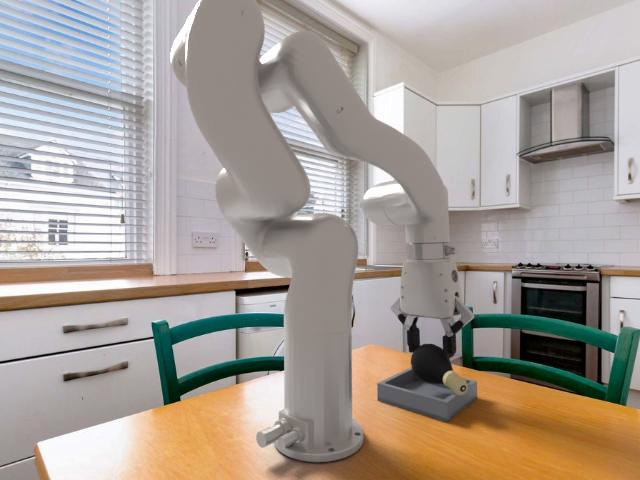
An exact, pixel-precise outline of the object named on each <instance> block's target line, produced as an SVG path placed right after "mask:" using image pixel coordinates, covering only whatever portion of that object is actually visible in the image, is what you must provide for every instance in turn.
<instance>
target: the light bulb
mask: <svg viewBox="0 0 640 480" xmlns="http://www.w3.org/2000/svg"><path fill="white" fill-rule="evenodd" d="M410 357H411V358H410V365H411V367H412V370H413V372H414V373H415V374H416V376H417V377H418V378H419V379H421V380H423V381H425V382H428V383H432V384H444V385H445V386H447V387H448V388H449V389H451V390H452V391H453V392H454V393H455V394H456V395H463V394H465V393H466V392H467V390H468V384H467V382H466V380H465V379H463V378H464V377H462V376H461V375H460V374H458V373H457V372H456V371H454V368H453V365H452V362H451V358H450V359H448V360H447V359H444V358H443V347H440V346H438V345H436V344H434V343H423V344H420V346H419V347H418V348H416V349H415V350H414V352H413V353H412V355H411V356H410Z"/></svg>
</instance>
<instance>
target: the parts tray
mask: <svg viewBox="0 0 640 480" xmlns="http://www.w3.org/2000/svg"><path fill="white" fill-rule="evenodd" d="M462 378H463V379H465V380H466V382H467V384H468V390H467V392H466V393H465V394H463V395H456V394H455V393H454V392H453V391H452V390H451V389H449V388H448V387H447V386H445V385H444V384H432V383H428V382H425V381H423V380H421V379H419V378H418V377H417V376H416V374H415V373H414V372H413V370H412V366H411V367H409V368H407V369H404V370H401V371H400V372H398V373H396V374H394V375H392V376H390V377H387V378H385V379H384V380H381V381H378V382H377V384H376V385H377V386H376V387H377V389H376V390H377V395H376V397H377V401H379V402H381V403H383V404H387V405H391V406H394V407H398V408H400V409H403V410H406V411H409V412H414V413H416V414H418V415H419V414H420V415H422V416H425V417H428V418H431V419H435V420H438V421H441V422H445V423H448V422H449V421H450V420H452V419H453V418H454V417H456V416H457V415H458V414H459V413H460V412H462V411H463V410H464V409H465V408H467V407H468V406H469V405H470V404H472V403H473V402H475V400H477V398H478V381H477V380H474V379H471V378H465V377H462Z"/></svg>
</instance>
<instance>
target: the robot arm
mask: <svg viewBox="0 0 640 480" xmlns="http://www.w3.org/2000/svg"><path fill="white" fill-rule="evenodd" d="M265 28H266V27H265V20H264V16H263V13H262V11H261V8H260V5H259V4H258V2H257V0H198V2H197V3H196V5H195V7H193V10H192V12H191V13H190V15H189V16H188V18H187V19H186V22H185V24H184V25H183V27H182V28H181V30H180V32H179V33H178V35H177V37H176V38H175V40H174V41H173V44H172V48H171V49H170V50H171V52H170V64H171V67H172V71H173V73H174V75H175V77H176V79H178V81H179V83H181V84H182V85H183V86H184V87H185V88H186V93H187V99H188V100H187V101H188V103H189V106H190V110H191V113H192V116H193V119H194V121H195V124H196V126H197V127H198V129H199V131H200V133H201V135H202V136H203V138H204V139H205V141H206V143H207V144H208V146H209V147H210V148H211V150H212V152H213V154H214V156H216V158H217V160H218V161H219V163H220V164H221V165H222V167H223V168H222V169H221V171H220V172H219V174H218V175H217V177H216V181H215V187H214V190H215V192H214V193H215V198H216V201H217V205H218V207H219V209H220V212H221V214H222V215H223V216H224V218H225V219H226V221H227V223H228V224H229V225H230V226H231V227H232V229H233V230H234V232H235V233H236V235H237V236H238V237H239V239H241V241H242V243H244V245H245V246H246V248H247V249H248V250H249V252H250V253H251V254H252V255H253V257H255V259H256V261H258V262H259V264H261V266H262V267H263V268H264V269H265V270H267V272H269V273H271V274H273V275H275V276H277V277H282V278H289V279H290V284H289V287H288V290H287V293H286V296H285V301H284V309H283V332H284V333H283V334H284V335H283V339H284V340H283V346H284V347H283V348H284V349H283V353H284V355H283V357H284V358H283V361H284V363H283V365H284V366H283V368H284V370H283V375H284V376H283V377H284V379H283V381H284V383H283V384H284V389H283V391H284V394H283V395H284V396H283V397H284V403H283V405H284V409H282V410H278V420H276V421H275V422H274V424H273V425H272V426H268V427H267V428H263V429H262V430H259V431H258V432H257V433H256V435H255V436H256V443H257V445H258V446H259V447H260V448H262V449H263V448H264V449H265V448H267V446H270V445H271V444H274V446H275V448H276V449H277V450H278V451H279V452H280V453H281V454H283V455H285V456H286V457H289V458H291V459H293V460H297V461H303V462H307V463H308V462H309V463H326V462H333V461H338V460H342V459H345V458H347V457H349V456H352V455H353V454H355V453H356V452H358V451H359V449H361V447H362V445H363V443H364V438H365V436H364V429H363V426H362V425H361V424H360V423H359V422H358V421H357V420H355V419H354V418H353V352H352V351H353V349H352V348H353V347H352V346H353V338H352V337H353V334H352V329H353V328H352V310H353V309H352V308H353V307H352V306H353V305H352V303H353V302H352V301H353V299H352V297H353V287H354V281H355V280H354V279H355V273H356V268H357V263H358V258H359V241H358V237H357V233H356V232H355V230H354V228H353V227H352V225H351V224H350V223H349V222H348V221H347V220H345V218H343V217H341V216H339V215H336V214H334V213H330V212H329V213H327V212H314V213H307V214H304V213H303V214H299V215H294V214H296V213H299V212H300V211H301V210H302V209H303V208H304V207H305V206H306V204H308V201H309V200H310V196H311V182H310V178H309V176H308V174H307V172H306V170H305V167H304V166H303V165H302V163H301V161H300V160H299V158H298V157H297V155H296V153H295V152H294V151H293V148H292V147H291V146H290V144H289V142H288V141H287V139H286V138H285V136H284V134H283V133H282V131H281V130H280V128H279V127H278V125H277V124H276V122H275V120H274V119H273V117H272V115H271V114H281V113H285V112H287V111H289V110H291V109H292V108H295V109H296V111H297V112H298V113H299V115H300V116H301V117H302V118H303V120H304V121H305V123H306V124H307V126H308V127H309V128H310V130H311V131H312V132H313V133H314V135H315V136H316V138H317V139H318V140H319V142H320V143H321V145H322V146H323V148H324V149H325V150H326V151H327V152H328V153H330V154H332V155H334V156H338V157H342V158H344V159H348V160H354V161H358V162H361V163H365V164H368V165H371V166H373V167H375V168H378V169H380V170H381V171H383V172H385V173H386V174H388V175H389V176H390V177H391V178H392V179H393V180H389V181H383V182H381V183H378V184H374V185H373V186H372V187H370V188H369V189H368V190H366V192H365V193H364V195H363V197H362V200H361V207H362V212H363V215H364V216H365V217H366V218H367V220H369V222H371V223H373V224H375V225H377V226H383V227H391V226H392V227H394V226H397V227H398V226H402V225H403V226H404V227H405V253H406V260H404V261H403V265H402V269H401V275H400V287H399V288H400V290H399V293H400V294H399V298H398V299H397V300H395V302H394V303H393V304H392V305H391V307H390V310H391V311H392V313H393V314H394V315H395V316H396V317H397V318H398V320H399V322H400V323H401V325H402V326H403V329H404V330H406V343H407V347H408V353H410V354H411V353H412V354H413V352H414V350H415V349H416V348H418V347H419V346H421V331H420V327H418V323H419V320H420V318H426V319H435V320H439V321H440V323H441V325H442V328H443V330H444V335H443V336H442V349H443V358H444V359H447V360H448V359H450V360H451V359H452V357H454V356H455V354H457V334H458V333H459V332H460V331H461V330H462V329H463V328H465V326H466V325H467V324H468V323H469V322H471V321H472V320H473V319H475V314H474V313H473V312H472V310H471V309H470V308H469V307H468V306H467V305H466V304H465V302H463V298H462V289H461V283H460V282H461V281H460V275H459V271H458V267H457V263H456V260H451V258H452V256H453V255H457V254H458V252H459V251H458V250H459V249H458V247H457V246H453V245H452V243H451V242H450V219H449V217H450V215H449V193H448V188H447V187H446V185H445V184H444V182H443V179H442V177H441V175H440V174H439V171H438V170H437V168H436V167H435V165H434V163H433V162H432V160H431V159H430V156H429V155H428V154H427V153H426V151H425V150H424V149H423V148H422V146H421V145H419V144H418V143H417V142H416V141H415V140H413V139H412V138H410V137H409V136H407V135H406V134H405V133H402V132H401V131H399V129H396V128H394V127H392V126H391V125H389V124H387V123H385V122H383V121H381V120H379V119H377V118H376V117H375V116H374V115H373V114H372V113H371V111H370V110H369V109H368V107H367V106H366V103H365V102H364V101H363V100H362V98H361V96H360V94H359V93H358V91H357V90H356V88H355V87H354V85H353V83H352V82H351V80H350V79H349V77H348V76H347V74H346V72H345V70H343V69H344V68H342V66H341V64H340V63H339V61H338V59H336V57H335V55H334V53H333V52H332V50H331V48H330V47H329V46H328V44H327V43H326V42H325V40H324V39H323V38H322V37H321V36H320V35H319V34H318V33H316V32H314V31H311V30H299V31H295V32H293V33H291V34H289V35H287V36H285V37H284V38H283V39H282V40H280V41H279V42H277V43H276V44H275V45H274V46H273V47H272V48H270V49H269V50H268V51H267V52H266V53H265V54H261V53H262V49H263V45H264V42H265V34H266V33H265ZM459 315H460V316H461V317H460V318H459V319H458V320H457V321H456V320H455V316H459Z"/></svg>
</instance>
